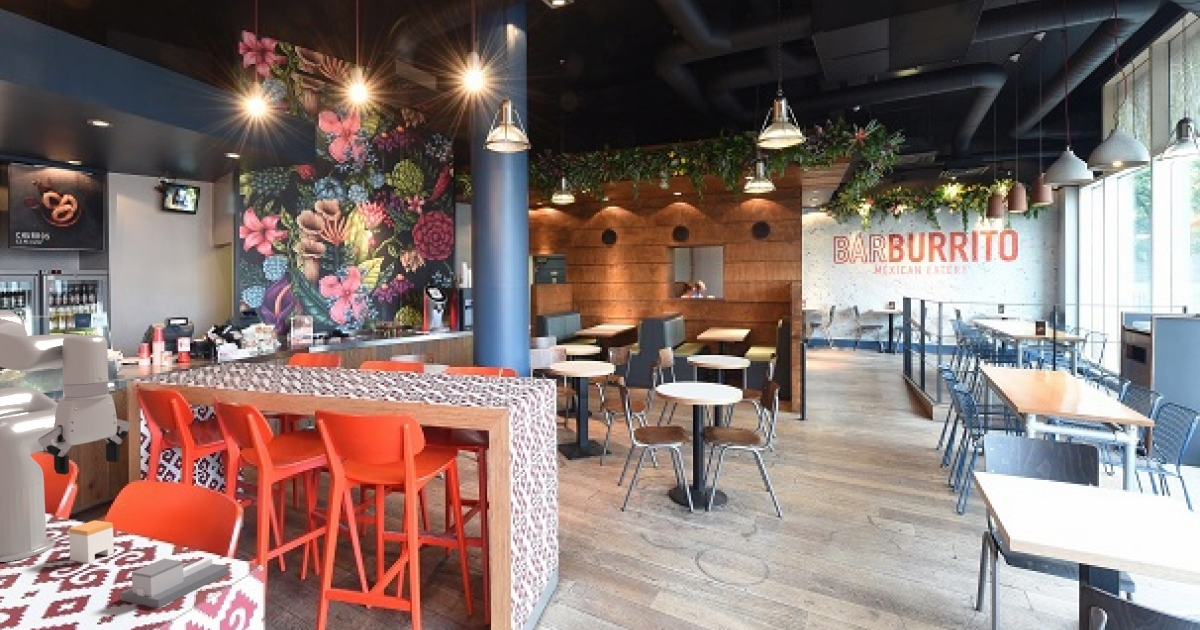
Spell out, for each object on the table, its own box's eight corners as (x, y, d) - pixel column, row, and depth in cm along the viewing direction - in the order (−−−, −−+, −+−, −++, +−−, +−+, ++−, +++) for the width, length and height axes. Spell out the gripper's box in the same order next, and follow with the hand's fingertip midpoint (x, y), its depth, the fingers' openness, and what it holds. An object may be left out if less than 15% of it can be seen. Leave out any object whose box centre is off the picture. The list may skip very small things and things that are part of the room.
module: (88, 563, 126) (87, 531, 126) (70, 559, 128) (68, 528, 128) (113, 553, 131) (112, 522, 131) (95, 550, 133) (94, 520, 133)
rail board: (120, 600, 109) (119, 571, 109) (193, 567, 123) (192, 541, 123) (158, 607, 106) (157, 578, 106) (228, 573, 120) (227, 547, 120)
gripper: (117, 384, 138) (119, 456, 138) (26, 396, 121) (29, 477, 122) (139, 386, 136) (141, 458, 136) (50, 398, 119) (52, 480, 120)
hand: (88, 467), depth 129 cm, fingers open, 9 cm apart
